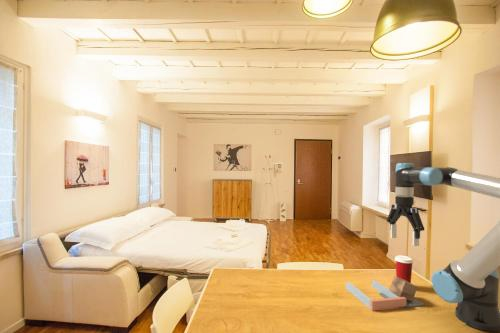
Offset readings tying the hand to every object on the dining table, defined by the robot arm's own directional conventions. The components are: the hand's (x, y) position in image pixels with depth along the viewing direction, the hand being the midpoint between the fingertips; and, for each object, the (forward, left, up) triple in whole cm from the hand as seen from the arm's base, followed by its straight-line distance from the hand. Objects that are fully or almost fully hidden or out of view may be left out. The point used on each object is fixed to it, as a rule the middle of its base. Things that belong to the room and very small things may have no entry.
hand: (404, 241), depth 129 cm
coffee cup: (+11, -9, -27) cm, 30 cm away
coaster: (-1, +2, -27) cm, 27 cm away
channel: (+4, +13, -27) cm, 30 cm away
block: (-1, +3, -25) cm, 25 cm away
